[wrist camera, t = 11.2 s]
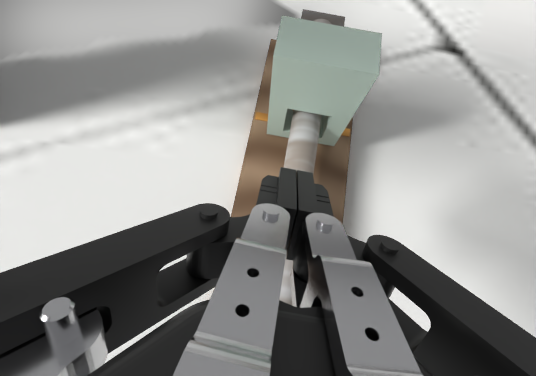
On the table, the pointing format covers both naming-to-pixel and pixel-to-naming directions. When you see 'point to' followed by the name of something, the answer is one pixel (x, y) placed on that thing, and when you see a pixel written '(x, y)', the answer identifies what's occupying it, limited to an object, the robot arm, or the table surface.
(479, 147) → the table surface
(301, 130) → the pipe stand
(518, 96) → the table surface
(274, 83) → the pale green rectangular block
